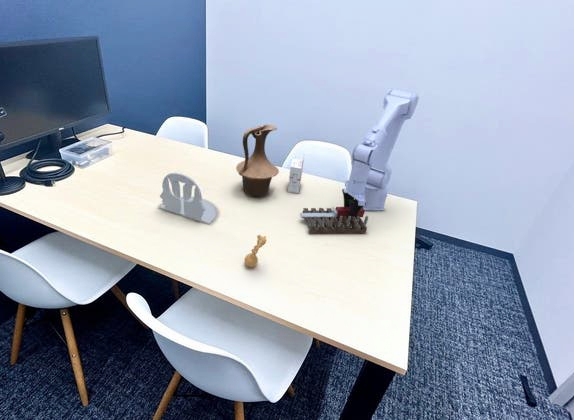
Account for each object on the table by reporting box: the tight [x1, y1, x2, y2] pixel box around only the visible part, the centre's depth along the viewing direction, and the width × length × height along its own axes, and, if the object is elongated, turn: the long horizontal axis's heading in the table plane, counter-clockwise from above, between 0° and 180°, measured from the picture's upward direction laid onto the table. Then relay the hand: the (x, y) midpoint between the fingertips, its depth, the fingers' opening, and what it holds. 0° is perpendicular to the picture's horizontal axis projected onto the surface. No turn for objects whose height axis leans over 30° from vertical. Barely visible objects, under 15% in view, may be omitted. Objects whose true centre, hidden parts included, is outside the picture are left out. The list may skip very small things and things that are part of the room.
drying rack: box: [302, 207, 369, 235], centre depth 119 cm, size 20×13×7 cm, turn 95°
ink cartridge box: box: [287, 154, 305, 194], centre depth 139 cm, size 9×5×15 cm, turn 168°
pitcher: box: [235, 124, 280, 198], centre depth 131 cm, size 18×17×28 cm
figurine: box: [244, 234, 267, 268], centre depth 96 cm, size 8×6×12 cm
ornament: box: [158, 172, 217, 225], centre depth 121 cm, size 22×13×17 cm, turn 65°
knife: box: [299, 206, 366, 218], centre depth 120 cm, size 23×3×3 cm, turn 95°
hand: (349, 212), depth 121 cm, fingers open, 5 cm apart
